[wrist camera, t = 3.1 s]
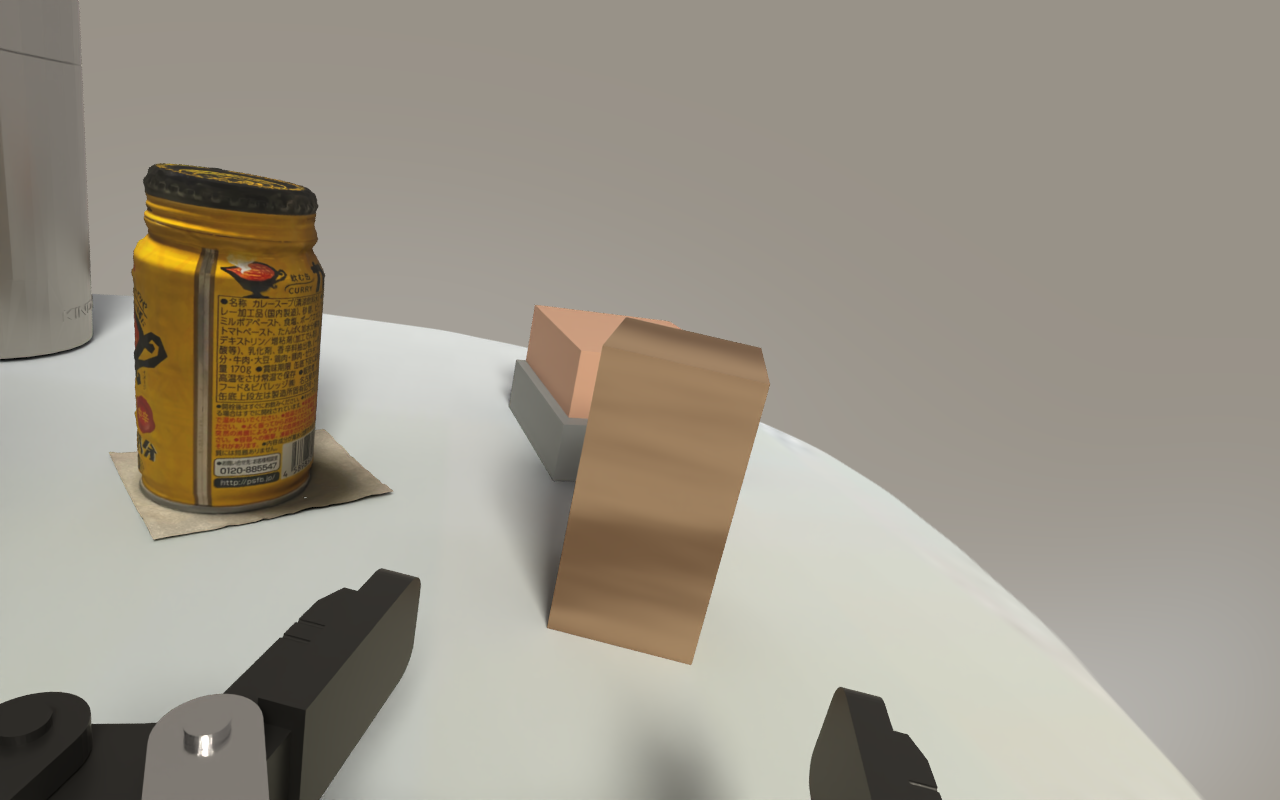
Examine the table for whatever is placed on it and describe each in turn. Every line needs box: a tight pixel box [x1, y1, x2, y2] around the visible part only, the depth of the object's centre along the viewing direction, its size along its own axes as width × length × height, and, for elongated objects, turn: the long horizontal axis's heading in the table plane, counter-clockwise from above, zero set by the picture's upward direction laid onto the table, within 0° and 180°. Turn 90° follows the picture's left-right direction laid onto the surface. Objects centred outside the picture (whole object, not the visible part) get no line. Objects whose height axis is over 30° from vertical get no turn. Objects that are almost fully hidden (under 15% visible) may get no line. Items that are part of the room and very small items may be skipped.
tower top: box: [526, 305, 682, 419], centre depth 39 cm, size 9×9×4 cm
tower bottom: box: [509, 360, 588, 481], centre depth 39 cm, size 10×10×4 cm
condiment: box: [109, 163, 393, 540], centre depth 26 cm, size 7×8×12 cm
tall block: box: [547, 317, 770, 665], centre depth 24 cm, size 5×5×10 cm
